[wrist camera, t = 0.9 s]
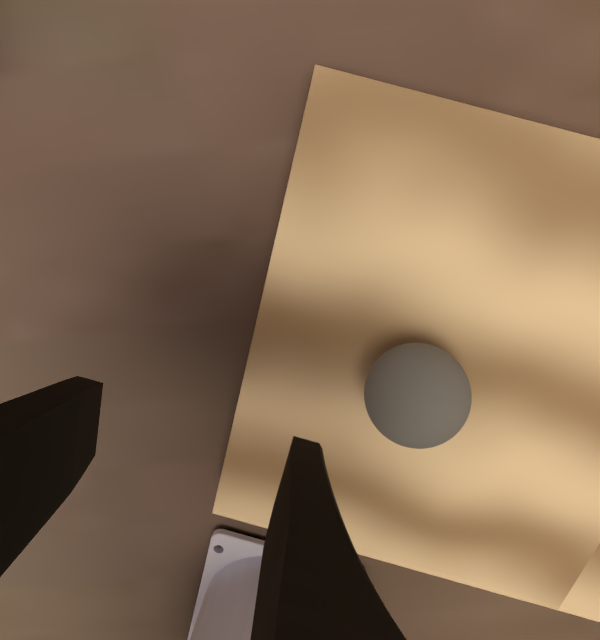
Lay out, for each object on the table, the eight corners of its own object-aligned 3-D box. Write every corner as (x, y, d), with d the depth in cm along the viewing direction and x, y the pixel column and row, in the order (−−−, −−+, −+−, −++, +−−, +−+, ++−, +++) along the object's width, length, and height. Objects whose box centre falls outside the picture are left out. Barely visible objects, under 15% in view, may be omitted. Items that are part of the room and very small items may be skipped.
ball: (441, 423, 19) (458, 483, 15) (352, 399, 19) (350, 453, 16) (474, 342, 17) (501, 389, 14) (379, 316, 18) (384, 357, 14)
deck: (753, 623, 23) (797, 677, 21) (226, 476, 24) (212, 513, 21) (1054, 267, 17) (1167, 288, 14) (321, 74, 17) (315, 64, 15)
